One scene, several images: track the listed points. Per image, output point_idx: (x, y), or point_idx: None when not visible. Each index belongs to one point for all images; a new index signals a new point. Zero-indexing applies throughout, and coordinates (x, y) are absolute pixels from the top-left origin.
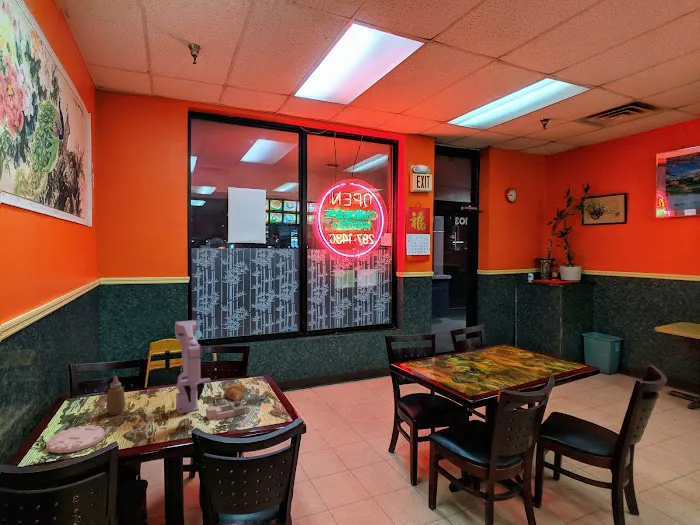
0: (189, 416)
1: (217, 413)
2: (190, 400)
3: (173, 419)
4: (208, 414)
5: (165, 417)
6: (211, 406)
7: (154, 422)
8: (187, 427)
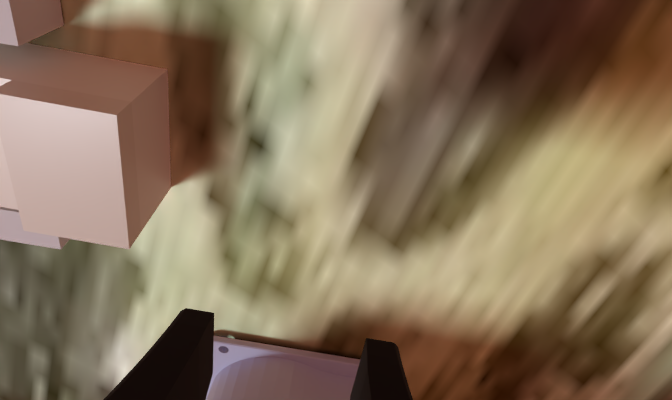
0: (330, 269)
1: (7, 28)
2: (376, 364)
3: (482, 301)
4: (141, 99)
5: (511, 370)
6: (57, 230)
7: (641, 344)
8: (478, 11)
